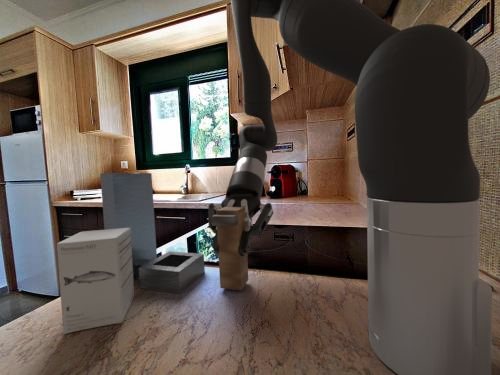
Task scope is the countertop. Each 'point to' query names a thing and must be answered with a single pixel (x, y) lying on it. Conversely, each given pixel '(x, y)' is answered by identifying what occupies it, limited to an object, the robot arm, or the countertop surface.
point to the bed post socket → (145, 233)
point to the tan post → (231, 247)
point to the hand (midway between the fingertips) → (229, 252)
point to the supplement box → (95, 278)
